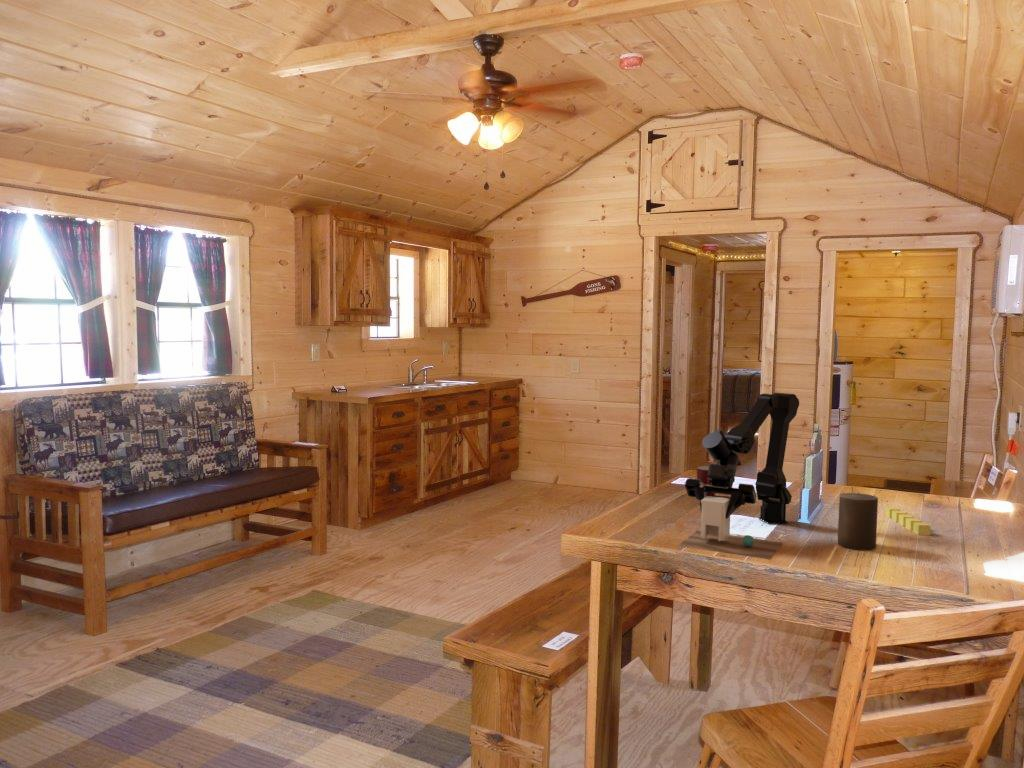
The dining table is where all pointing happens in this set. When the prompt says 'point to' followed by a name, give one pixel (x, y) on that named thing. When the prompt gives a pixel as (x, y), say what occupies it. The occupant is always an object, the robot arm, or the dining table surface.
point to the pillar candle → (857, 521)
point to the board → (732, 545)
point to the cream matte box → (715, 517)
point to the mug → (704, 477)
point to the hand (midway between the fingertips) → (713, 516)
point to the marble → (748, 541)
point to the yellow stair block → (908, 521)
